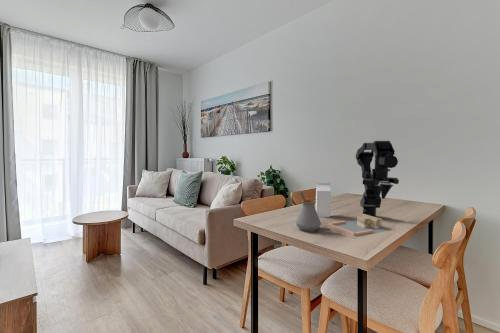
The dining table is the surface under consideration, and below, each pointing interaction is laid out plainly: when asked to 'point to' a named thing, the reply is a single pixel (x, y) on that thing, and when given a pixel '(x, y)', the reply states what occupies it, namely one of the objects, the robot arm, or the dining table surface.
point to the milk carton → (323, 199)
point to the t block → (369, 221)
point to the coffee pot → (308, 216)
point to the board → (354, 228)
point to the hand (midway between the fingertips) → (380, 199)
